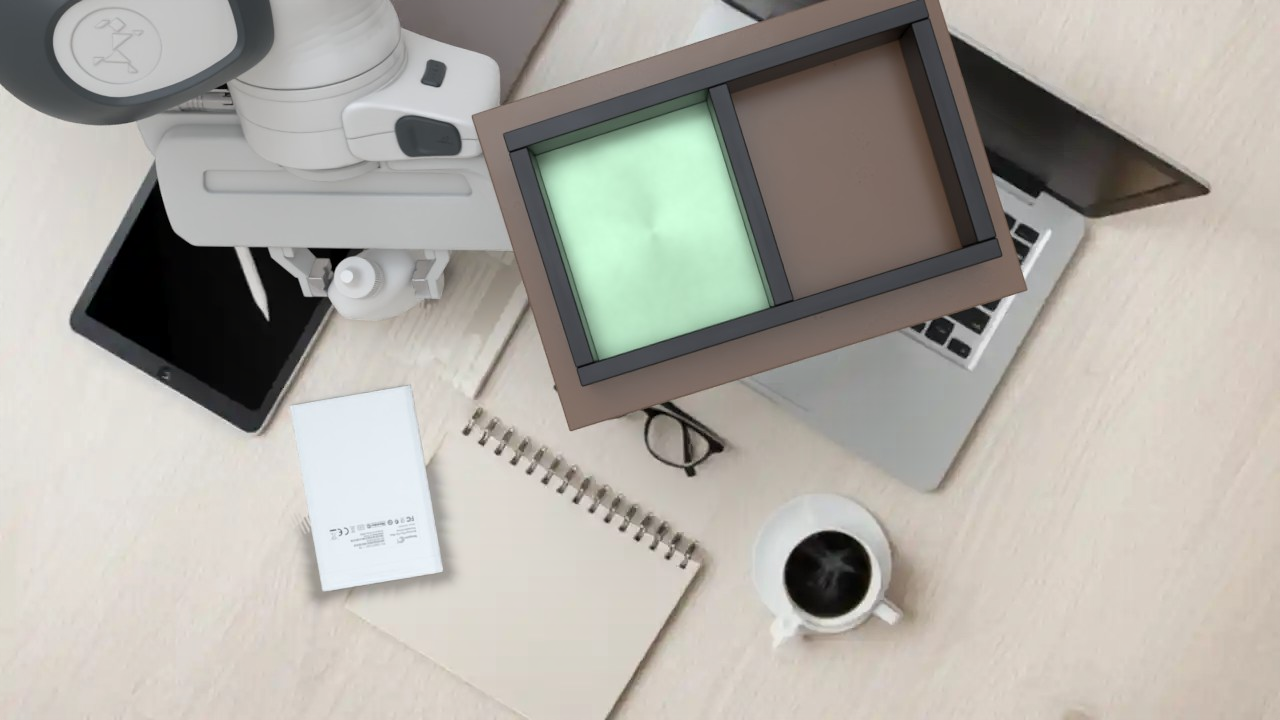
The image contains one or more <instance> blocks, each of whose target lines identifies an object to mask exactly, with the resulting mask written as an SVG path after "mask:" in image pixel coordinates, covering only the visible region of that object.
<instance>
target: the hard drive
mask: <svg viewBox="0 0 1280 720" xmlns="http://www.w3.org/2000/svg"><path fill="white" fill-rule="evenodd" d="M413 392H414V391H413V387H412V384H407V385H402V386H396V387H391V388H385V389H379V390H373V391H367V392H361V393H355V394H350V395H345V396H344V395H343V396H338V397H332V398H326V399H321V400H315V401H314V400H313V401H309V402H303V403H297V404H290V405H289V406H288V407H289V412H290V418H291V425H292V429H293V434H294V439H295V446H296V451H297V456H298V463H299V468H300V474H301V478H302V485H303V490H304V496H305V501H306V502H305V503H306V507H307V512H308V513H307V514H308V517H309V524H310V529H311V535H312V541H313V546H314V551H315V556H316V562H317V568H318V572H319V579H320V585H321V591H322V592H332V591H336V590H342V589H348V588H355V587H360V586H361V587H362V586H367V585H373V584H378V583H385V582H391V581H397V580H405V579H411V578H416V577H422V576H428V575H434V574H439V573H443V572H444V568H443V567H444V565H443V560H442V556H441V549H440V545H439V544H440V543H439V538H438V531H437V527H436V521H435V514H434V508H433V502H432V496H431V491H430V484H429V479H428V474H427V466H426V462H425V454H424V450H423V444H422V438H421V433H420V426H419V421H418V415H417V410H416V405H415V404H416V403H415V398H414V393H413Z"/></svg>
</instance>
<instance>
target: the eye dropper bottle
mask: <svg viewBox="0 0 1280 720" xmlns="http://www.w3.org/2000/svg"><path fill="white" fill-rule="evenodd" d="M417 260H428V259H426V258H425V254H424V249H365V250H363V251H361V252H360V253H358V254H356V255H353V256H348V257H346V258H344V259H343V260H341V261H340V262H339V263H338V264H337V266H336V267H335V270H334V279H333V280H332V282H331V284H330V286H329V288H328V297H327V298H328V299H329V300H330V303H331V304H332V305H333V307H334V309H335V310H336V311H337V313H338V314H339V315H340V316H341V317H342V318H344V319H348V320H358V321H359V320H360V321H384V320H389V319H392V318H395V317H398V316H401V315H402V314H404V313H407V312H409V311H410V310H412V309H413V308H415V307H417V306H418V305H419V304H420V303H422V302H423V301H424V300H425V299H421V298H416V297H415V294H414V293H415V289H414V288H413V285H412V280H411V279H412V276H413V272H414V271H415V265H416V261H417Z"/></svg>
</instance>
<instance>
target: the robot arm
mask: <svg viewBox="0 0 1280 720" xmlns="http://www.w3.org/2000/svg"><path fill="white" fill-rule="evenodd" d="M500 71H501V70H500V67H499V65H498V63H497V61H496V60H494V59H493V57H490V56H489V55H486V54H483V53H480V52H477V51H474V50H470V49H466V48H462V47H459V46H455V45H452V44H449V43H445V42H442V41H439V40H436V39H433V38H430V37H427V36H424V35H421V34H419V33H416V32H413V31H411V30H409V29H406V28H404V27H402V25H401V22H400V19H399V17H398V13H397V11H396V9H395V7H394V5H393V3H392V2H391V0H0V85H1V87H3V89H5V90H6V91H7V92H8V93H10V94H11V95H12V96H13V97H14V98H16V99H17V100H19V101H20V102H22V103H23V104H25V105H26V106H28V107H30V108H32V109H33V110H36V111H38V112H39V113H42V114H44V115H47V116H49V117H52V118H55V119H57V120H61V121H64V122H69V123H73V124H79V125H85V126H98V127H99V126H116V125H118V126H119V125H126V124H130V123H134V122H136V127H137V129H138V131H139V134H140V136H141V138H142V141H143V143H144V145H145V148H146V149H147V151H148V152H149V153H150V155H152V156H153V157H154V158H155V162H154V163H155V170H156V176H157V182H158V185H159V191H160V194H161V197H162V201H163V202H162V203H163V205H164V209H165V212H166V215H167V218H168V221H169V223H170V227H171V229H172V230H173V232H174V233H175V234H176V235H177V236H178V237H180V238H181V239H182V240H184V241H185V242H187V243H189V244H190V245H191V246H195V247H225V248H226V247H229V248H230V247H231V248H234V247H235V248H248V247H249V248H267V249H268V252H269V255H270V258H271V259H273V260H274V261H275V262H276V263H277V264H278V265H280V266H281V267H282V268H283V269H284V270H286V272H288V273H289V274H291V275H292V276H293V277H294V278H297V279H298V282H299V286H300V288H301V291H302V294H303V297H305V298H329V297H328V288H329V286H330V284H331V282H332V280H333V279H334V275H335V274H334V273H335V271H333V270H332V263H331V259H330V258H329V257H327V258H325V257H316V256H315V255H314V253H313V252H311V250H310V249H361V250H362V249H365V250H367V249H424V254H425V258H426V259H428V260H417V261H416V265H415V271H414V272H413V276H412V279H411V280H412V285H413V288H414V289H415V293H414V294H415V297H416V298H421V299H424V300H441V299H442V297H443V292H444V288H445V276H444V275H445V274H444V270H445V269H446V267H447V266H448V264H449V262H450V260H451V256H452V252H453V251H498V252H499V251H500V252H501V251H502V252H513V248H512V245H511V242H510V239H509V235H508V232H507V229H506V226H505V223H504V219H503V216H502V213H501V210H500V207H499V203H498V200H497V197H496V194H495V191H494V187H493V184H492V181H491V178H490V175H489V171H488V168H487V165H486V162H485V159H484V155H483V152H482V149H481V146H480V143H479V139H478V136H477V133H476V130H475V127H474V123H473V120H472V115H473V114H476V113H479V112H482V111H486V110H489V109H492V108H495V107H498V106H501V105H502V104H500V101H501V72H500ZM225 84H226V85H227V89H225V88H224V89H223V88H221V89H218V88H219V87H221V86H223V85H225Z"/></svg>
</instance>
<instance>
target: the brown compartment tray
mask: <svg viewBox="0 0 1280 720" xmlns="http://www.w3.org/2000/svg"><path fill="white" fill-rule="evenodd" d="M952 41H953V40H952V38H951V34H950V31H949V28H948V25H947V22H946V18H945V15H944V12H943V9H942V5H941V1H940V0H823V1H820V2H817V3H814V4H811V5H807V6H805V7H801V8H798V9H794V10H791V11H789V12H785V13H782V14H779V15H777V16H773V17H770V18H767V19H764V20H761V21H758V22H755V23H752V24H749V25H745V26H742V27H739V28H736V29H733V30H730V31H726V32H724V33H721V34H718V35H715V36H711V37H708V38H705V39H701V40H699V41H696V42H693V43H689V44H687V45H683V46H680V47H678V48H675V49H671V50H668V51H666V52H665V51H664V52H662V53H659V54H655V55H652V56H649V57H647V58H643V59H641V60H638V61H634V62H631V63H627V64H625V65H621V66H618V67H616V68H612V69H609V70H606V71H603V72H600V73H596V74H594V75H591V76H588V77H584V78H582V79H579V80H575V81H571V82H569V83H566V84H563V85H560V86H557V87H554V88H550V89H547V90H545V91H542V92H538V93H535V94H533V95H528V96H526V97H523V98H519V99H517V100H513V101H510V102H507V103H504V104H500V105H501V106H498V107H495V108H492V109H489V110H486V111H482V112H479V113H476V114H473V115H472V120H473V123H474V127H475V130H476V133H477V136H478V139H479V143H480V146H481V149H482V152H483V155H484V159H485V162H486V165H487V168H488V171H489V175H490V178H491V181H492V184H493V187H494V191H495V194H496V197H497V200H498V203H499V207H500V210H501V213H502V216H503V219H504V223H505V226H506V229H507V232H508V235H509V239H510V242H511V245H512V248H513V251H512V252H513V254H514V258H515V261H516V265H517V268H518V271H519V274H520V277H521V279H522V284H523V286H524V290H525V293H526V296H527V299H528V303H529V306H530V309H531V312H532V315H533V319H534V322H535V325H536V327H537V331H538V334H539V338H540V341H541V344H542V347H543V351H544V354H545V357H546V361H547V363H548V366H549V367H548V368H549V370H550V374H551V376H552V379H553V383H554V386H555V389H556V393H557V396H558V399H559V402H560V405H561V408H562V411H563V414H564V417H565V421H566V424H567V427H568V430H569V432H574V431H577V430H581V429H583V428H587V427H590V426H593V425H596V424H600V423H603V422H606V421H609V420H613V419H616V418H619V417H623V416H625V415H629V414H632V413H636V412H639V411H642V410H645V409H650V408H653V407H655V406H658V405H661V404H664V403H668V402H671V401H674V400H675V401H676V400H677V399H682V398H685V397H688V396H691V395H693V394H697V393H701V392H705V391H707V390H710V389H713V388H717V387H720V386H723V385H726V384H730V383H732V382H736V381H739V380H742V379H745V378H748V377H749V378H750V377H752V376H756V375H758V374H762V373H766V372H768V371H772V370H775V369H779V368H782V367H784V366H788V365H791V364H794V363H797V362H798V363H799V362H801V361H805V360H807V359H810V358H814V357H816V356H821V355H823V354H827V353H830V352H833V351H836V350H840V349H843V348H846V347H850V346H852V345H856V344H859V343H862V342H866V341H869V340H872V339H876V338H878V337H881V336H885V335H889V334H892V333H895V332H898V331H901V330H905V329H909V328H911V327H914V326H918V325H921V324H924V323H927V322H930V321H934V320H937V319H940V318H943V317H946V316H951V315H954V314H956V313H960V312H963V311H965V310H969V309H973V308H976V307H979V306H983V305H986V304H988V303H992V302H996V301H999V300H1001V299H1005V298H1008V297H1012V296H1014V295H1018V294H1021V293H1024V292H1027V291H1028V286H1027V283H1026V280H1025V275H1024V273H1023V270H1022V266H1021V263H1020V260H1019V257H1018V253H1017V250H1016V246H1015V243H1014V240H1013V237H1012V234H1011V231H1010V228H1009V224H1008V221H1007V217H1006V215H1005V214H1006V213H1005V211H1004V208H1003V205H1002V201H1001V198H1000V194H999V191H998V188H997V184H996V181H995V179H994V176H993V172H992V168H991V166H990V163H989V159H988V156H987V152H986V149H985V145H984V143H983V138H982V136H981V132H980V129H979V125H978V124H977V120H976V119H977V118H976V116H975V113H974V110H973V107H972V104H971V100H970V97H969V94H968V91H967V88H966V84H965V80H964V77H963V74H962V71H961V68H960V65H959V60H958V57H957V54H956V51H955V47H954V44H953V42H952Z"/></svg>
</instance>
